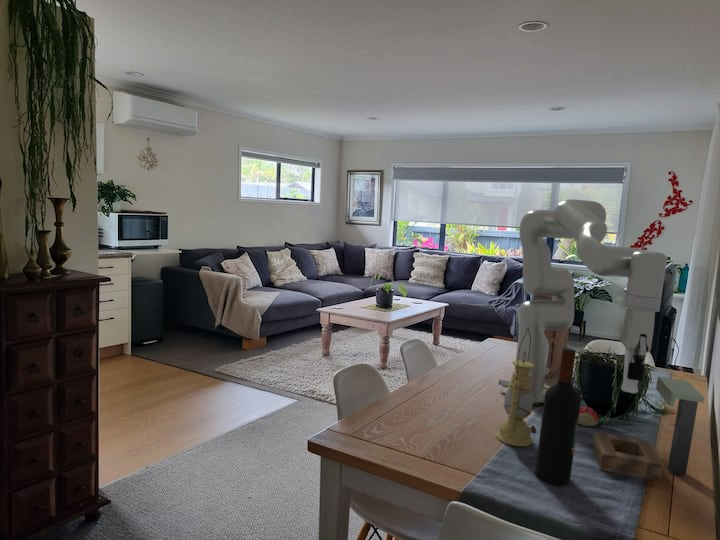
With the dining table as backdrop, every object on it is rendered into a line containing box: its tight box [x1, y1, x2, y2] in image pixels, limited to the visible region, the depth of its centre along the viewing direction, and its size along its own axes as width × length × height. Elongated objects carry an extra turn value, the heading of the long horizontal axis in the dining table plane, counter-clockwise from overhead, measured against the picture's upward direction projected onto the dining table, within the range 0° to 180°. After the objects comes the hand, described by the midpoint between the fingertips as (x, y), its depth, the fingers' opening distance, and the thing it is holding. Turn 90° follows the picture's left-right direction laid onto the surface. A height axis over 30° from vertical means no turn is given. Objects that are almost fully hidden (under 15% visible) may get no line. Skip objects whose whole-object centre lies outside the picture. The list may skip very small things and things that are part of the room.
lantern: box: [495, 328, 537, 447], centre depth 137 cm, size 12×10×30 cm
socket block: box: [591, 431, 664, 482], centre depth 130 cm, size 13×13×4 cm
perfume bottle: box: [620, 346, 639, 394], centre depth 128 cm, size 5×4×15 cm
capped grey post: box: [655, 376, 705, 477], centre depth 127 cm, size 7×12×21 cm, turn 164°
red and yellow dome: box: [578, 406, 599, 428], centre depth 155 cm, size 7×10×4 cm
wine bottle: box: [534, 347, 582, 487], centre depth 119 cm, size 8×8×30 cm
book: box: [533, 295, 570, 379], centre depth 202 cm, size 25×9×30 cm, turn 147°
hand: (632, 375), depth 129 cm, fingers closed on perfume bottle, 4 cm apart
